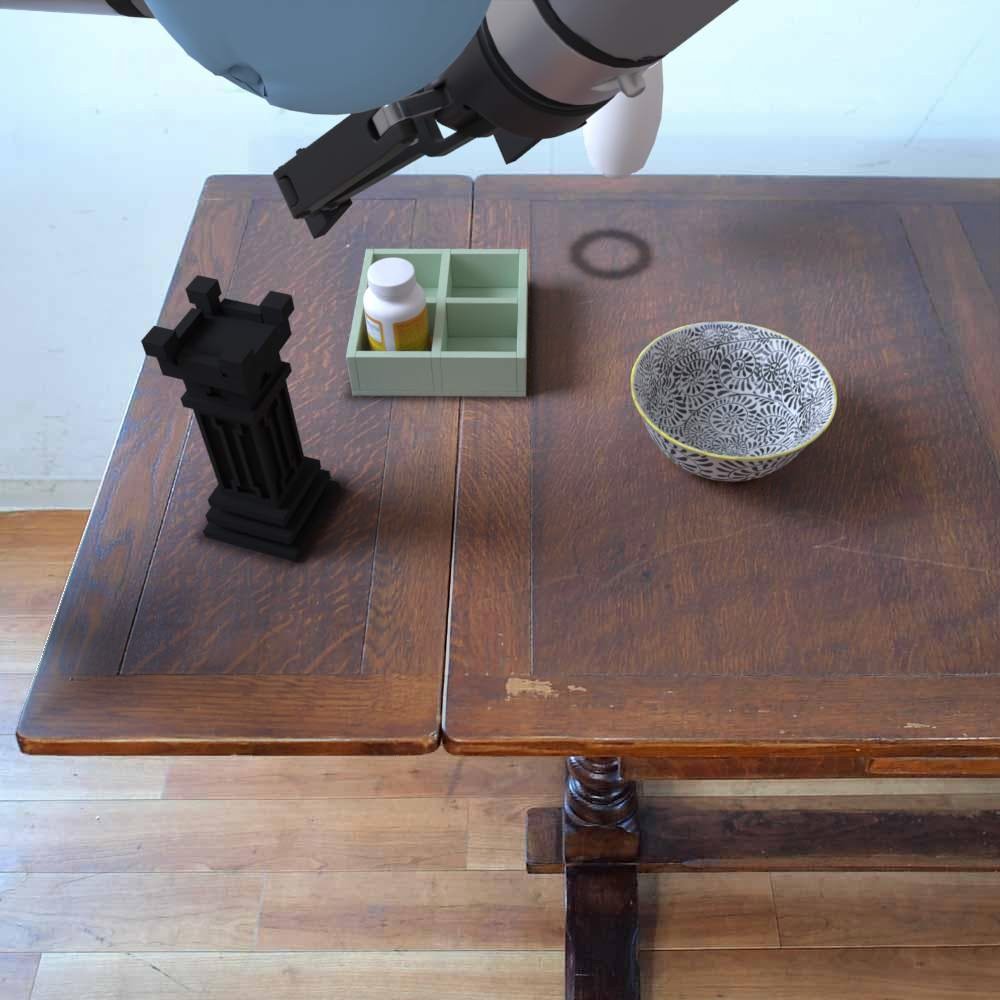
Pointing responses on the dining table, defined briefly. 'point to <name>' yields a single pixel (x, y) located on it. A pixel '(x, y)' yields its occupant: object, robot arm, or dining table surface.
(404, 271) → the supplement bottle
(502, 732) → the dining table surface
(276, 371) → the chess piece
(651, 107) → the cup
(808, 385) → the bowl
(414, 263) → the grid
